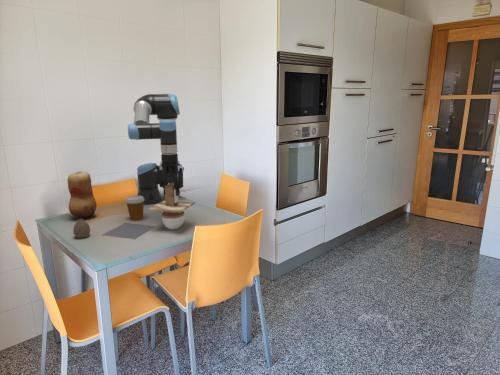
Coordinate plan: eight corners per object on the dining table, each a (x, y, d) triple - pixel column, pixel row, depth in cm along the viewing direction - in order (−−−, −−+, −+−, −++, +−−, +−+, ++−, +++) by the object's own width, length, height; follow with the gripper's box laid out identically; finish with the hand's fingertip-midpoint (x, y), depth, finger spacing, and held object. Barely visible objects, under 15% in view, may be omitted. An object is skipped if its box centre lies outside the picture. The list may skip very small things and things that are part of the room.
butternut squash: (65, 222, 186) (59, 174, 180) (76, 214, 199) (71, 169, 193) (92, 221, 186) (87, 174, 180) (102, 213, 199) (97, 169, 193)
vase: (86, 233, 169) (84, 215, 167) (93, 237, 165) (91, 218, 163) (71, 237, 164) (69, 219, 162) (78, 241, 160) (76, 222, 158)
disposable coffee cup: (123, 220, 187) (121, 198, 184) (136, 215, 195) (134, 194, 192) (136, 223, 183) (134, 200, 180) (149, 218, 191) (148, 196, 188)
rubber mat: (125, 223, 183) (125, 222, 183) (156, 226, 178) (156, 226, 178) (101, 235, 166) (101, 235, 166) (135, 239, 161) (135, 239, 161)
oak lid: (166, 201, 184) (164, 180, 181) (194, 203, 179) (193, 182, 176) (148, 210, 169) (147, 187, 166) (179, 213, 164) (178, 189, 162)
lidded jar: (182, 231, 171) (181, 213, 169) (160, 231, 171) (158, 212, 169) (186, 224, 182) (185, 206, 179) (165, 224, 182) (164, 206, 180)
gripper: (148, 153, 167) (152, 202, 172) (182, 155, 162) (184, 205, 167) (157, 151, 174) (160, 198, 179) (189, 153, 169) (191, 200, 174)
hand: (172, 201), depth 173 cm, fingers closed on oak lid, 4 cm apart
